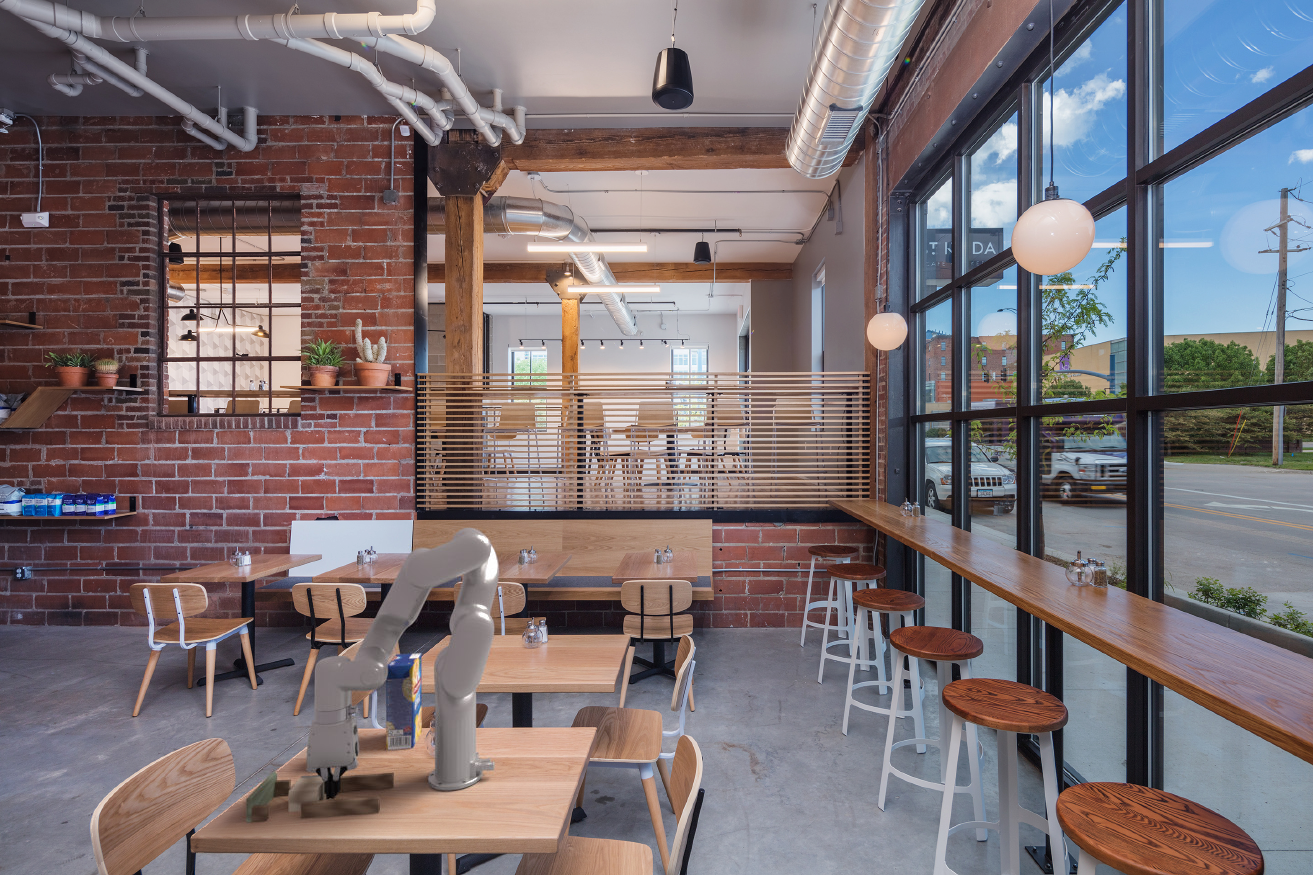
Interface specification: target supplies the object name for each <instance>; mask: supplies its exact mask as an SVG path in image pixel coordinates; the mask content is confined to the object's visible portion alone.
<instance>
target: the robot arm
mask: <svg viewBox="0 0 1313 875" xmlns="http://www.w3.org/2000/svg"><path fill="white" fill-rule="evenodd" d="M461 576H462V582H461V584H460V589H459V593H458V596H457V598H456V599H457V600H456V602H455V604H454V609H453V610H452V611H453V612H452V613H451V616H450V619H449V629H450V632H451V636H450V639H449V642H448V645H447V646H445V647H443V648H442V649H441V650H440V651H439V652H438V654H437V655H436V657H435V661H434V664H433V666H434V667H433V679H434V680H433V681H434V769H433V770H432V771H431V772H430V773H428V777H427V780H428V782H427V783H428V785H429V786H430V787H431V788H433V789H435V790H438V791H439V790H440V791H456V790H462V789H464V788H468V787H470V786H472V785H474V784H476V783H478V782H479V780H481V779H482V777H483V772H484V771H487V772H488V771H489V772H490V771H495V764H496V762H495V761H492V758H491V757H490V758H489V757H488V758H481V757H480V753H479V752H477V689H478V686H479V685H480V682H481V681H482V677H483V674H484V671H485V669H486V665H487V663H488V662H487V661H488V658H489V654H490V652H491V649H492V644H493V642H494V637H495V636H494V635H495V622H494V619H493V617H492V616H491V613H492V612H491V611H492V607H493V603H494V600H495V597H496V593H497V587H498V583H499V578H500V565H499V559H498V555H497V553H496V550H495V548H494V546H493V545H492V543H491V541H490V539H489V538H488V537H487V536H486V534H484V533H483V532H481V531H480V530H479V529H477V528H473V527H464V528H461V529H459V530H458V531H457V532H456V533H455V534H454V535H453V537H452V539H451V541H450V540H449V541H448V542H445V543H443V544H441V545H438V546H436V547H434V548H428V547H427V548H426V547H420V548H419V547H418V548H416V549H414V550H412V551H411V552H409V554H408V555H407V556H406V558H405V559H404V562H403V563H402V566H401V567H400V569H399V572H398V573H397V575H396V577H395V580H394V581H393V583H392V584H391V587H390V589H389V591H388V593H387V595H386V597H385V598H384V600H383V602H382V604H381V606H380V607H379V610H378V612H377V614H376V616H375V618H374V620H373V622H372V623H371V626H369V628H368V631H367V633H366V634H365V637H364V638H363V640H362V642H361V645H360V646H359V648H358V649H357V652H356V654H355V656H354V659H353V660H351V659H350V658H349V657H348V656H344V655H334V656H329V657H328V656H327V657H324V658H322V659H320V660H319V661H317V663H316V664H315V667H314V716H313V717H314V719H312V721H311V724H310V727H309V732H308V733H309V734H308V738H307V746H306V772H308V773H313V774H317V775H319V776H320V777H321V778H322V781H324V794H326V799H325V800H335V798H336V797H337V795H338V794H339V793H340V792H341V791H340V789H341V776H344V774H345V773H346V772H349V771H352V770H355V769H356V768H357V767H358V766H359V761H358V757H359V755H360V740H359V739H360V738H359V737H360V736H359V728H358V722H357V718H356V716H355V715H354V714H356V715H357V714H358V713H359V711H358V710H359V708H358V706H357V707H355V706H353V702H352V698H353V697H352V692H369V691H370V692H371V691H375V690H377V689H379V688H380V687H382V686H383V685H384V684H385V682H386V678H387V675H388V666H387V665H388V662H389V661H390V660H389V659H390V657H391V655H392V653H393V651H394V649H395V648H396V645H397V644H398V642H399V640H400V638H401V636H402V635H403V633H404V632H405V631H406V629H407V628H408V627H410V626H411V625H412V624H413V623H414V622H415V621H416V620H417V618H418V616H419V615H420V613H421V610H422V608H423V607H424V605H425V602H426V600H427V598H428V596H429V594H430V592H431V591H432V589H433V588H435V587H438V586H440V585H443V584H445V583H447V582H451V581H452V580H454V579H456V578H459V577H461ZM333 768H334V772H333V771H332V770H333ZM333 774H334V775H333Z"/></svg>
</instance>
